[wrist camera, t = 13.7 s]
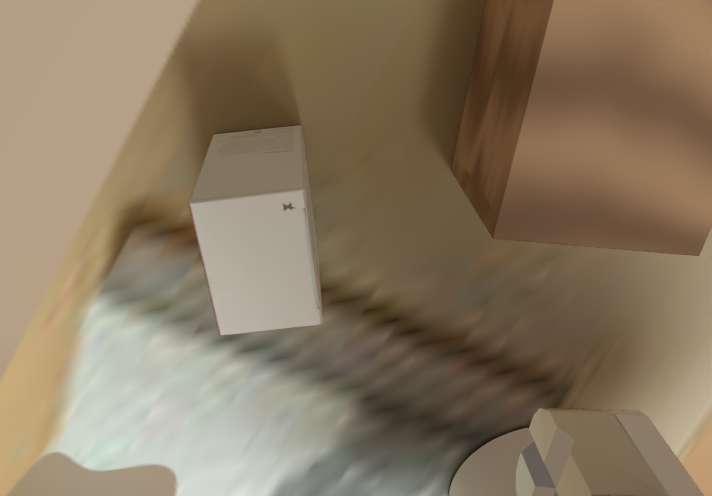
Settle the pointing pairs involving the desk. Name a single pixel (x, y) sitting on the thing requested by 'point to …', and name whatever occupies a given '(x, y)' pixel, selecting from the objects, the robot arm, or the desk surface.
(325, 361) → the desk surface
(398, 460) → the desk surface
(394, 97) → the desk surface
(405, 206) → the desk surface
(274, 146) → the small box
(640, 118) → the shelf
